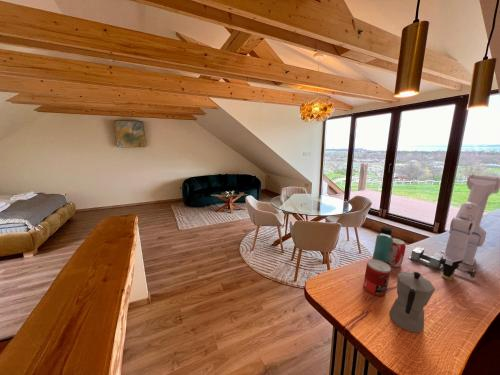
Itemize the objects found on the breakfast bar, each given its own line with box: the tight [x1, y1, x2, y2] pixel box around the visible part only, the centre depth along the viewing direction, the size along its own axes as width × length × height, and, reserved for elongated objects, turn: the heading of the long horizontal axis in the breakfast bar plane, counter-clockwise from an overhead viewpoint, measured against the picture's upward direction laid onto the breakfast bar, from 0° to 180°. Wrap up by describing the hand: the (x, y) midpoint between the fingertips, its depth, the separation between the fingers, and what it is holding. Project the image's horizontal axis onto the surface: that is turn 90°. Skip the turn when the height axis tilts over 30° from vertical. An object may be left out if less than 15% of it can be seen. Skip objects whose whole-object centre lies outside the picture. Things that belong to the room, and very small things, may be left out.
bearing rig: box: [408, 245, 444, 271], centre depth 103 cm, size 12×8×5 cm, turn 37°
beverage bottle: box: [372, 226, 393, 264], centre depth 94 cm, size 6×7×20 cm
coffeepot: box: [389, 271, 436, 334], centre depth 66 cm, size 15×9×18 cm, turn 137°
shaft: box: [439, 260, 477, 278], centre depth 95 cm, size 14×3×3 cm, turn 37°
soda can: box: [388, 237, 406, 268], centre depth 99 cm, size 7×7×12 cm
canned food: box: [363, 259, 392, 297], centre depth 82 cm, size 8×8×11 cm
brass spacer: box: [441, 269, 456, 281], centre depth 92 cm, size 3×5×5 cm, turn 127°
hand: (448, 273), depth 92 cm, fingers closed on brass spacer, 5 cm apart
